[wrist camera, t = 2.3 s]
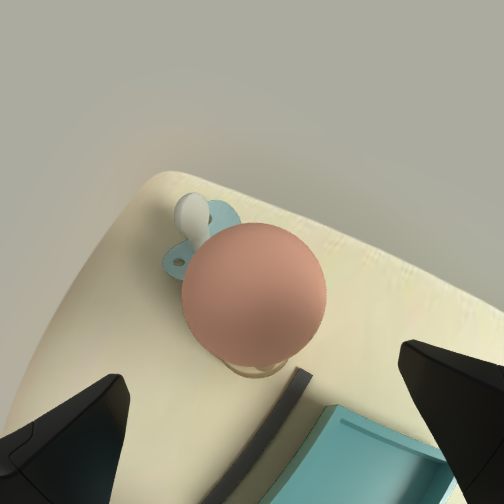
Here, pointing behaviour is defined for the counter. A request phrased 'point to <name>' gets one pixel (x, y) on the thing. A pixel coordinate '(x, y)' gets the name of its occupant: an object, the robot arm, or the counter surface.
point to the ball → (253, 295)
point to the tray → (361, 466)
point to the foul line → (260, 439)
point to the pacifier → (197, 228)
